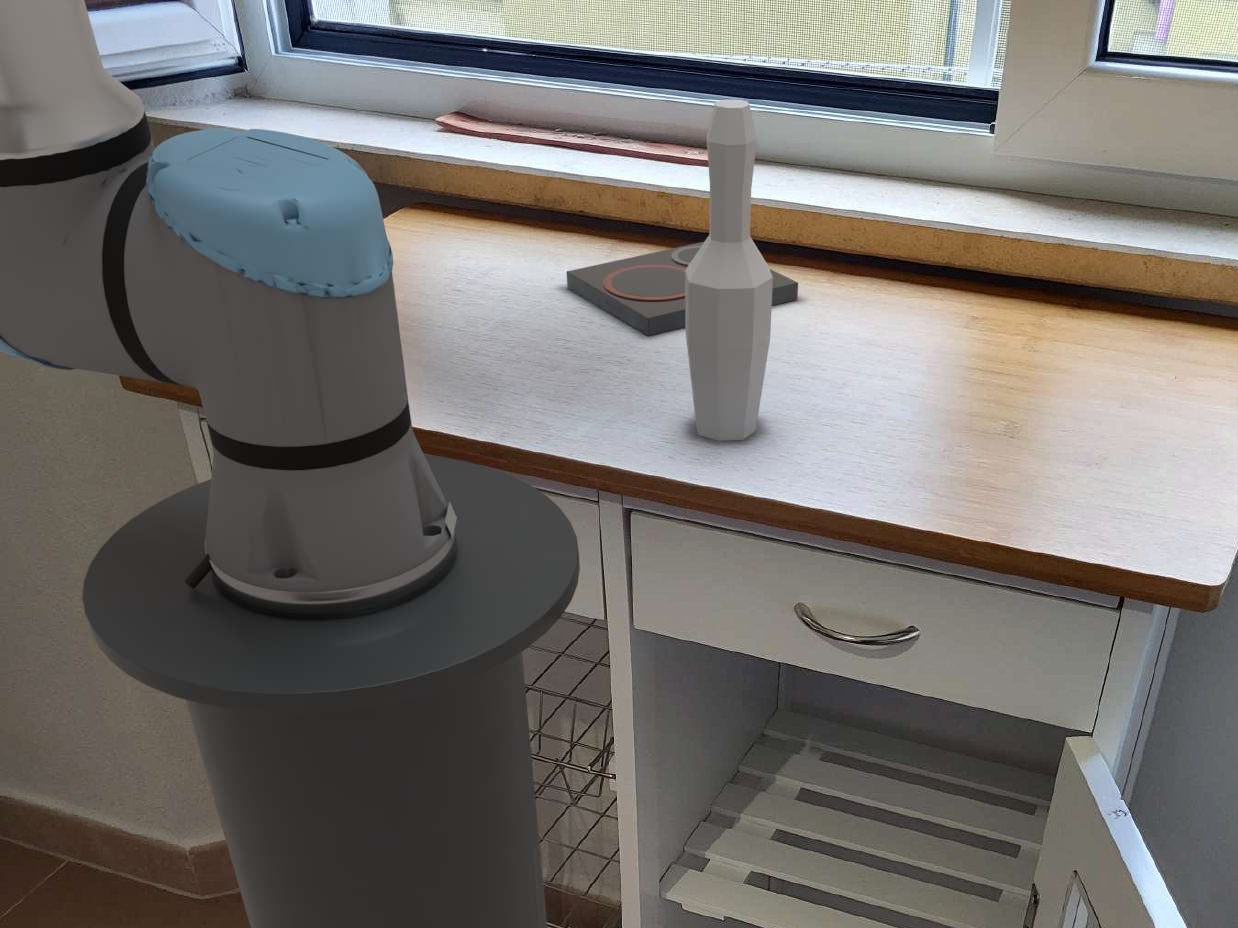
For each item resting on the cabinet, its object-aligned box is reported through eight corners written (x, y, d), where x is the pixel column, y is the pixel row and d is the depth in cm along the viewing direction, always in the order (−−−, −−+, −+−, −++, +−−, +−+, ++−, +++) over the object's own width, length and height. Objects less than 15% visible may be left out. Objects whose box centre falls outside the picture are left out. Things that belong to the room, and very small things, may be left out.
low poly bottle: (758, 450, 105) (770, 119, 90) (675, 441, 106) (673, 113, 91) (774, 415, 110) (788, 95, 95) (695, 407, 111) (696, 89, 96)
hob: (648, 336, 121) (647, 316, 120) (567, 288, 130) (566, 269, 129) (797, 299, 128) (798, 281, 127) (711, 256, 137) (711, 238, 135)
